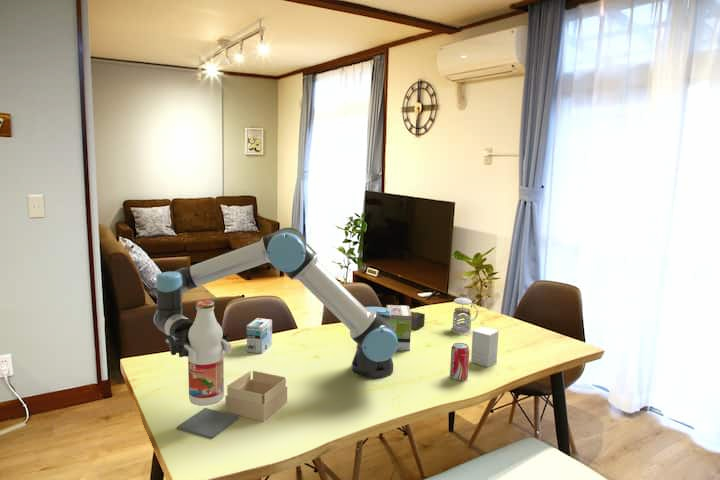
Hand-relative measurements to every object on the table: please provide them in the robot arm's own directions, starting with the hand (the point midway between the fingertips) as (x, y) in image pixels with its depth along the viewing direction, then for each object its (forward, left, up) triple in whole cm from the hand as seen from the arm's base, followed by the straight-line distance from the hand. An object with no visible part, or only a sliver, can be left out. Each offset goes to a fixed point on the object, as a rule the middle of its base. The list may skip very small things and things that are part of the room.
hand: (212, 353), depth 136 cm
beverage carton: (-20, -112, -23) cm, 116 cm away
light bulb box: (+23, -57, -23) cm, 66 cm away
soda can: (-55, -64, -23) cm, 88 cm away
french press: (-47, -115, -23) cm, 127 cm away
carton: (-3, -16, -22) cm, 28 cm away
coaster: (+4, -2, -22) cm, 23 cm away
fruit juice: (+4, -2, -15) cm, 16 cm away
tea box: (-25, -86, -23) cm, 93 cm away
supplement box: (-61, -82, -23) cm, 105 cm away
